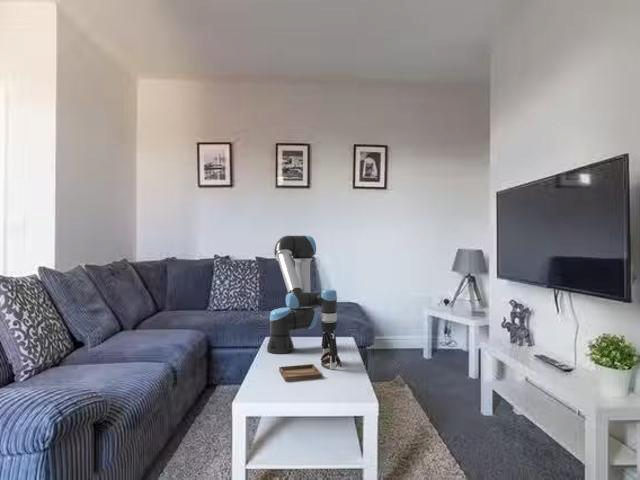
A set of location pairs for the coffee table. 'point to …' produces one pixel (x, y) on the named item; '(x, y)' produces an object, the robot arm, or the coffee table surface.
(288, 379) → the walnut tray
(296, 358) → the coffee table surface
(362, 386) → the coffee table surface
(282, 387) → the coffee table surface
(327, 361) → the pottery mug
